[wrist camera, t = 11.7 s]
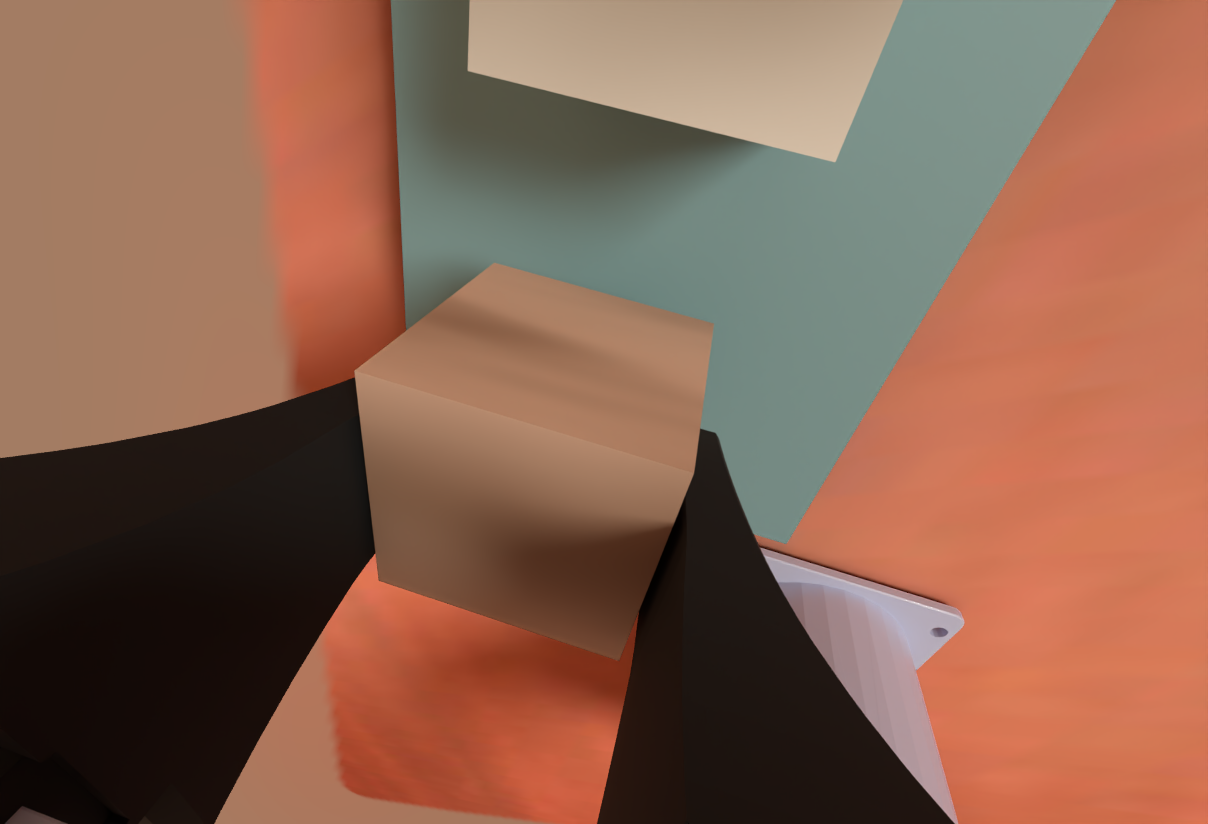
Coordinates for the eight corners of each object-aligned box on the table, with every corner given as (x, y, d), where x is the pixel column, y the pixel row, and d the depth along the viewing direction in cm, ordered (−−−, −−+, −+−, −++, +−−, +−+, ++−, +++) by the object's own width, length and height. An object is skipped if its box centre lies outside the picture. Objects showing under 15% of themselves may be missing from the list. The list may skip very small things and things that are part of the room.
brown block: (656, 488, 13) (619, 661, 9) (483, 435, 13) (378, 580, 9) (714, 323, 10) (694, 473, 6) (493, 262, 10) (354, 370, 7)
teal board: (783, 502, 17) (786, 544, 15) (438, 399, 18) (410, 428, 16) (1215, -271, 7) (1331, -355, 6) (434, -399, 8) (368, -498, 7)
